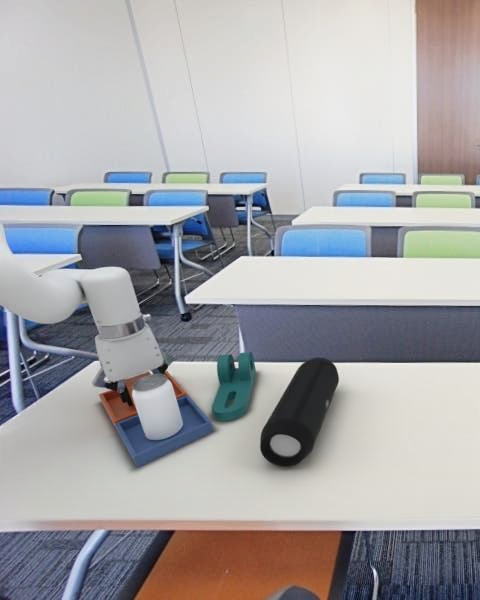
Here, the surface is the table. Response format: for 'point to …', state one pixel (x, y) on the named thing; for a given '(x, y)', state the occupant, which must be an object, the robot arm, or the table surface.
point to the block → (131, 381)
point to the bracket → (233, 386)
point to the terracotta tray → (122, 410)
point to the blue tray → (150, 449)
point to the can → (157, 407)
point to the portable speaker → (299, 413)
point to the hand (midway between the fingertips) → (144, 396)
